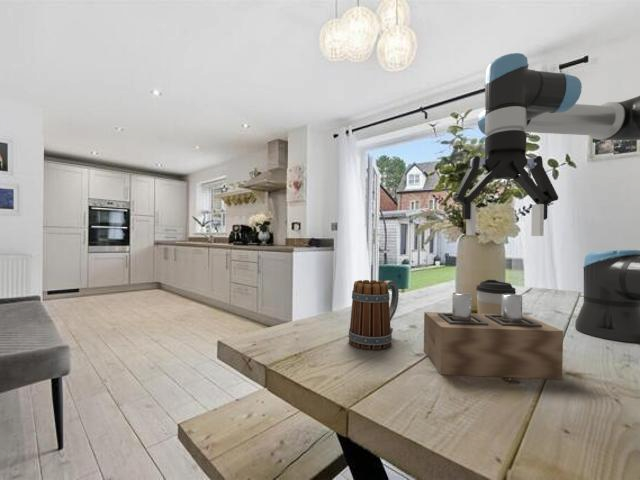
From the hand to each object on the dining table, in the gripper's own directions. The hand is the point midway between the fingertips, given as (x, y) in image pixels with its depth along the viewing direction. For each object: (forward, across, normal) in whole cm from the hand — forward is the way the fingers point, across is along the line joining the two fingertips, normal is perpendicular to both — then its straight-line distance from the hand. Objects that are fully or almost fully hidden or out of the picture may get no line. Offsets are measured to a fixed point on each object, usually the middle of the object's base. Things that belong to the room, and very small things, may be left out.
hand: (503, 235), depth 65 cm
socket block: (+27, +4, +1) cm, 27 cm away
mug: (+27, +25, -11) cm, 38 cm away
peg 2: (+21, -1, +2) cm, 21 cm away
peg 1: (+21, +9, +1) cm, 23 cm away
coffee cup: (+27, -6, -16) cm, 32 cm away
